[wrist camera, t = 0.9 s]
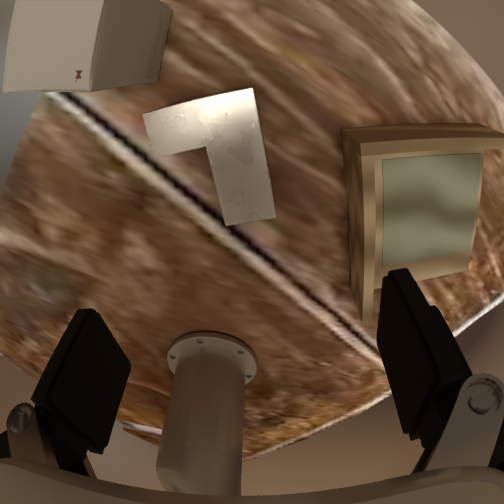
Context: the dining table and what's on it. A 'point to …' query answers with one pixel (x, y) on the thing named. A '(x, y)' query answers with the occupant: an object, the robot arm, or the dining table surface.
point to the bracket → (221, 148)
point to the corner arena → (411, 200)
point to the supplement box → (84, 45)
